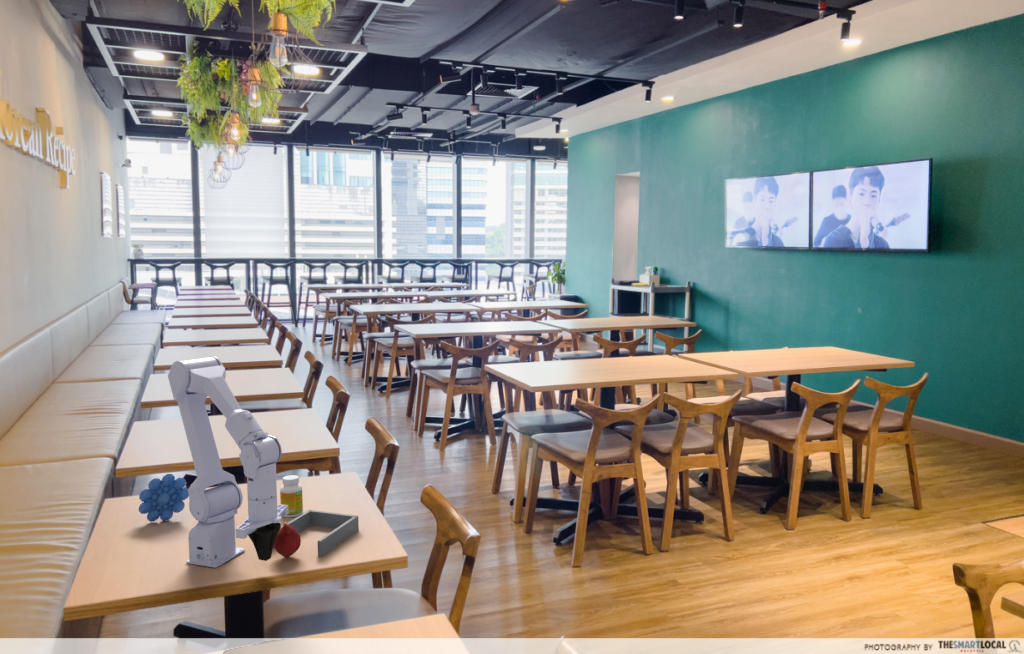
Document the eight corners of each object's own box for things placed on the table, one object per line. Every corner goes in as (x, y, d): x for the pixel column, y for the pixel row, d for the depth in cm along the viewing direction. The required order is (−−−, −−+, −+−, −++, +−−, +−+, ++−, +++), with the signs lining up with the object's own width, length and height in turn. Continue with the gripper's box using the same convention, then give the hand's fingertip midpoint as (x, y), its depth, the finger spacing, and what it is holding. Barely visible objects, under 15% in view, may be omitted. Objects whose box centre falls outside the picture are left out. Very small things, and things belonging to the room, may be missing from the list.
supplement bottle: (299, 518, 179) (297, 480, 178) (277, 517, 179) (276, 480, 178) (305, 510, 184) (304, 474, 183) (285, 510, 184) (283, 474, 183)
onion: (305, 552, 158) (304, 518, 157) (295, 563, 152) (293, 527, 151) (280, 551, 158) (279, 517, 158) (269, 562, 153) (267, 526, 152)
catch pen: (321, 556, 156) (320, 541, 155) (268, 548, 160) (268, 534, 160) (358, 529, 171) (358, 515, 171) (310, 523, 175) (309, 509, 175)
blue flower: (191, 512, 183) (189, 467, 182) (190, 521, 177) (188, 474, 176) (141, 518, 179) (139, 472, 178) (138, 527, 173) (135, 479, 171)
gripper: (255, 509, 138) (258, 576, 140) (299, 487, 152) (301, 547, 153) (225, 505, 140) (228, 571, 142) (272, 483, 154) (274, 543, 156)
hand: (264, 558), depth 148 cm, fingers closed
